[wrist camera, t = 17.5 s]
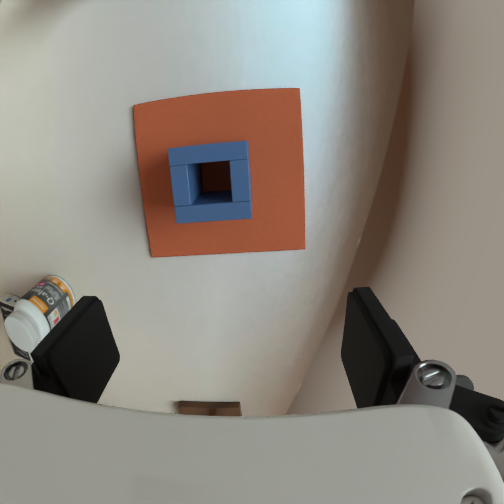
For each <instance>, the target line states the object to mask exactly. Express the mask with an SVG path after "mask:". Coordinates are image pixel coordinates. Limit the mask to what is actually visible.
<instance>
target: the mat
mask: <svg viewBox="0 0 504 504" xmlns="http://www.w3.org/2000/svg"><path fill="white" fill-rule="evenodd" d="M134 121H135V134H136V145H137V156H138V165H139V174H140V182H141V190H142V197H143V205H144V211H145V218H146V224H147V231H148V236H149V242H150V248H151V253H152V257H169V256H187V255H206V254H225V253H243V252H262V251H281V250H299V249H305V199H304V162H303V138H302V118H301V102H300V89H299V88H277V89H252V90H237V91H225V92H215V93H206V94H197V95H190V96H183V97H176V98H170V99H164V100H158V101H152V102H147V103H142V104H137V105H134ZM235 141H249V156H250V172H251V189H252V219H239V220H223V221H208V222H194V223H180V224H177V223H176V217H175V210H174V207H175V206H174V201H173V193H172V184H171V175H170V166H169V156H168V148H175V147H183V146H192V145H201V144H211V143H222V142H235ZM229 161H230V160H229ZM229 161H217V162H206V163H201V171H202V182H203V192H211V191H224V190H231V176H230V163H229Z"/></svg>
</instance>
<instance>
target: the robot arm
mask: <svg viewBox="0 0 504 504" xmlns="http://www.w3.org/2000/svg"><path fill="white" fill-rule="evenodd" d="M30 355H31V357H32V359H33V361H34V362H33V363H32V365H31V363H30V361H29V360H27V359H15V360H13V361H11V362H9V363H8V364H7V365H6V366H5V367H4V368H3V369H2V371H1V374H0V504H504V401H502V400H500V399H497V398H494V397H491V396H488V395H485V394H482V393H479V392H476V391H473V390H470V389H467V388H464V387H461V386H459V385H456V374H455V372H454V370H453V369H452V368H451V367H450V366H449V365H447V364H446V363H444V362H441V361H437V360H425V361H421V360H420V359H419V357H418V355H417V354H416V352H415V351H414V349H413V347H412V346H411V344H410V343H409V341H408V340H407V338H406V337H405V335H404V334H403V332H402V331H401V329H400V327H399V326H398V324H397V323H396V322H395V320H393V319H391V318H390V316H389V315H388V313H387V312H386V310H385V309H384V308H383V306H382V305H381V303H380V302H379V300H378V299H377V297H376V296H375V294H374V293H373V291H372V290H371V289H370V288H369V287H360V288H354V289H353V291H352V292H349V293H348V297H347V307H346V317H345V325H344V333H343V341H342V348H341V358H342V362H343V365H344V368H345V371H346V374H347V377H348V380H349V383H350V386H351V390H352V393H353V395H354V399H355V402H356V405H357V409H350V410H340V411H330V412H322V413H310V414H296V415H280V416H201V415H184V414H171V413H160V412H151V411H142V410H134V409H127V408H120V407H114V406H108V405H102V404H97V402H98V400H99V398H100V396H101V395H102V393H103V391H104V389H105V387H106V385H107V383H108V381H109V379H110V378H111V376H112V374H113V372H114V370H115V368H116V367H117V365H118V363H119V360H120V354H119V351H118V348H117V346H116V343H115V340H114V337H113V334H112V331H111V328H110V325H109V322H108V319H107V316H106V313H105V310H104V306H103V303H102V301H101V300H99V299H98V297H96V296H83V297H82V298H81V299H80V300H79V301H78V302H77V303H76V304H75V305H74V306H73V307H72V308H71V309H70V310H69V311H68V312H67V313H66V314H65V315H64V317H63V318H62V319H61V320H60V321H59V322H58V323H57V324H56V325H55V326H54V327H53V328H52V330H51V331H50V332H49V333H48V334H47V335H46V336H45V337H44V338H43V340H42V341H41V342H40V343H39V344H38V345H37V346H36V348H35V349H34V350H33V351H32V352H31V353H30Z"/></svg>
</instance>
